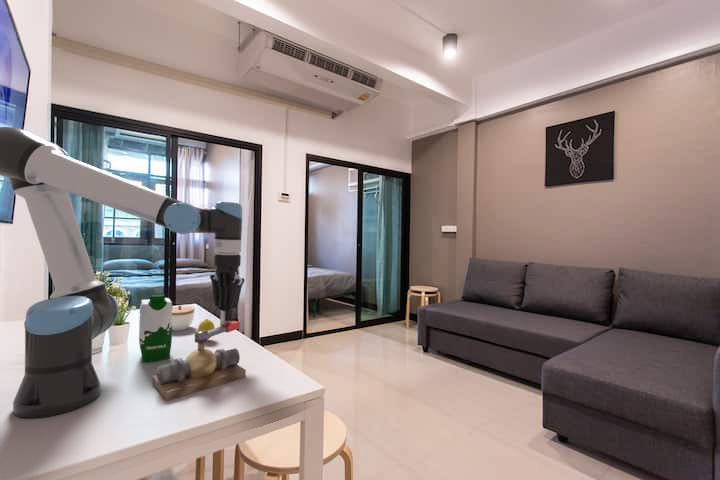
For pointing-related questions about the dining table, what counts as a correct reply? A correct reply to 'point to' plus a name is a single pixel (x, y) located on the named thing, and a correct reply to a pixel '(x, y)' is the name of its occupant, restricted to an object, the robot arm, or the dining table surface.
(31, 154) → the robot arm
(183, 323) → the lidded jar
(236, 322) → the lever
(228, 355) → the valve rig
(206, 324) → the lemon
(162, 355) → the milk carton
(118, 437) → the dining table surface
